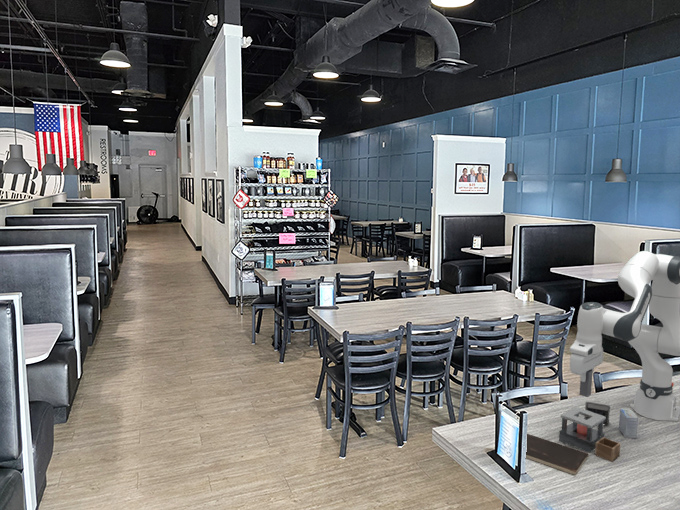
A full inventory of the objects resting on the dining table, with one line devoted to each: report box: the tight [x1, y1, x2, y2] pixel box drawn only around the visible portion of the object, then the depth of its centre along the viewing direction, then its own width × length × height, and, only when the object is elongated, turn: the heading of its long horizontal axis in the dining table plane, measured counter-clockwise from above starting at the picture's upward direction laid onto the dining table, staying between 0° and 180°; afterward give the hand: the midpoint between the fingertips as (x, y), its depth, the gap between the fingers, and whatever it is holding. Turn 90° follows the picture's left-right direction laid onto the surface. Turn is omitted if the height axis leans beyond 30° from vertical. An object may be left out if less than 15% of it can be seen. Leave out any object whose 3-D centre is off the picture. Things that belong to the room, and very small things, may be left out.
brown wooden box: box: [594, 436, 621, 463], centre depth 188 cm, size 6×6×5 cm
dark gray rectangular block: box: [578, 370, 594, 398], centre depth 195 cm, size 3×3×10 cm
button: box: [577, 424, 587, 436], centre depth 198 cm, size 4×4×5 cm
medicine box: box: [618, 408, 639, 439], centre depth 204 cm, size 8×4×9 cm, turn 168°
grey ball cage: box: [558, 405, 606, 454], centre depth 197 cm, size 12×12×11 cm
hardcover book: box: [526, 433, 589, 476], centre depth 188 cm, size 16×23×2 cm
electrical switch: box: [583, 400, 611, 426], centre depth 213 cm, size 9×5×9 cm, turn 64°
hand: (586, 379), depth 195 cm, fingers closed on dark gray rectangular block, 3 cm apart
